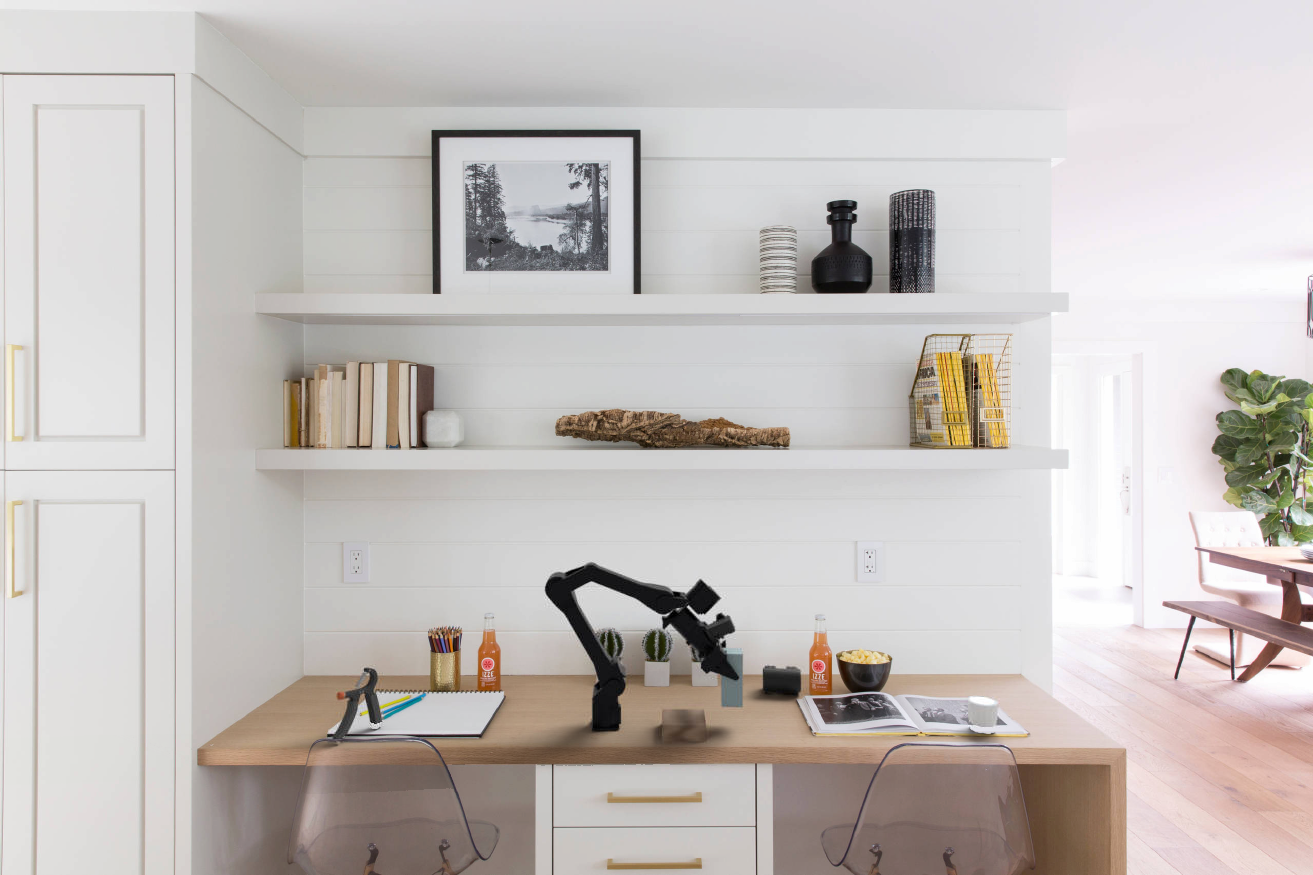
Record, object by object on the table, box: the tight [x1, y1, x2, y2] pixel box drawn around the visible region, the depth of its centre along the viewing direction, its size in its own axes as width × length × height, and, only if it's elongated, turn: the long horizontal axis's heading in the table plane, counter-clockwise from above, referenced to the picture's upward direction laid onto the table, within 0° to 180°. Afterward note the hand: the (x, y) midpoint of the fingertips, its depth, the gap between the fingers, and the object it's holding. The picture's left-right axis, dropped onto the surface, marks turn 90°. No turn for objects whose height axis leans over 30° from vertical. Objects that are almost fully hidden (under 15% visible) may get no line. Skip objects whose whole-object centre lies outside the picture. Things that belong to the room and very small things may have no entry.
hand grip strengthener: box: [332, 667, 383, 740], centre depth 173 cm, size 2×12×15 cm, turn 149°
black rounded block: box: [762, 665, 802, 695], centre depth 202 cm, size 10×7×7 cm
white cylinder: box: [966, 695, 999, 727], centre depth 177 cm, size 7×7×7 cm
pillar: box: [720, 647, 744, 708], centre depth 179 cm, size 5×5×12 cm
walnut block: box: [661, 708, 707, 742], centre depth 175 cm, size 10×10×4 cm
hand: (737, 675), depth 179 cm, fingers closed on pillar, 5 cm apart
